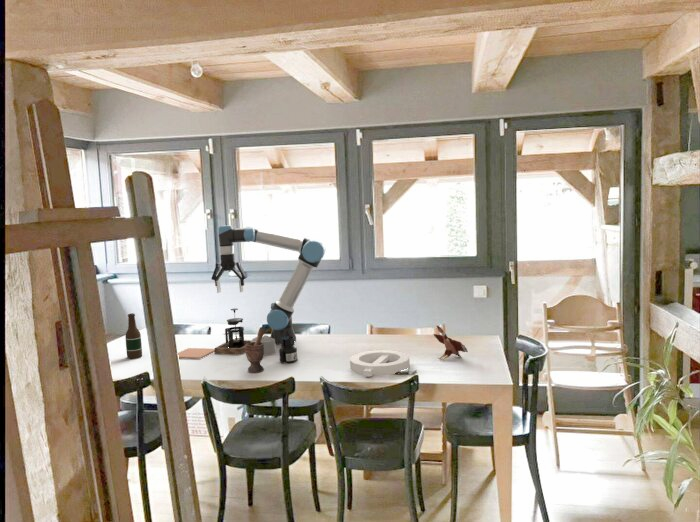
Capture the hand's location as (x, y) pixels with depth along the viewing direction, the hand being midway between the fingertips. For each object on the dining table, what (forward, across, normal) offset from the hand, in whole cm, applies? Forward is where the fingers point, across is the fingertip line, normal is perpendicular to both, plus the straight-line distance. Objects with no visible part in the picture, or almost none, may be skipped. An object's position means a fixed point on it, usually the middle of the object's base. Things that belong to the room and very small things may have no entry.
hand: (230, 292), depth 312 cm
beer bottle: (+32, +49, +21) cm, 62 cm away
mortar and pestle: (+33, -30, +37) cm, 58 cm away
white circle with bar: (+34, -88, +27) cm, 98 cm away
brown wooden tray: (+32, -1, +1) cm, 32 cm away
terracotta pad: (+32, +18, +12) cm, 39 cm away
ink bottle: (+33, -40, +21) cm, 56 cm away
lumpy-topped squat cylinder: (+33, -20, +6) cm, 39 cm away
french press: (+32, -1, +1) cm, 32 cm away
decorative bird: (+34, -119, +10) cm, 124 cm away
